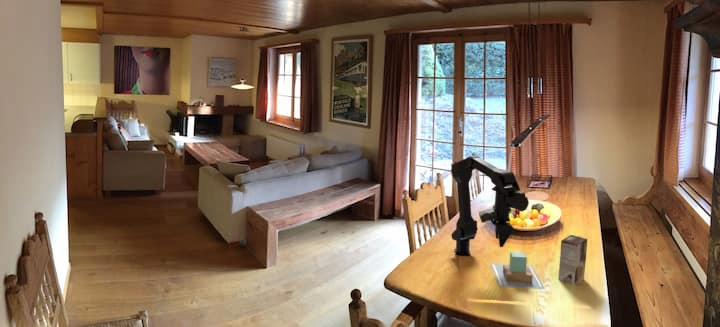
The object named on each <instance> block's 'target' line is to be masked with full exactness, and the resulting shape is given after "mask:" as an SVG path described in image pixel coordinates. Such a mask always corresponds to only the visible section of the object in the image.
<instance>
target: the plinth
mask: <svg viewBox="0 0 720 327" xmlns="http://www.w3.org/2000/svg"><path fill="white" fill-rule="evenodd" d="M503 274H504V276H505V279H506V281H507V282H520V283H532V278H533V275H532V273H531V271H530V270H529V268H528V266H526V273H518V272H512V271H511V269H510V267H509V265H503Z"/></svg>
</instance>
